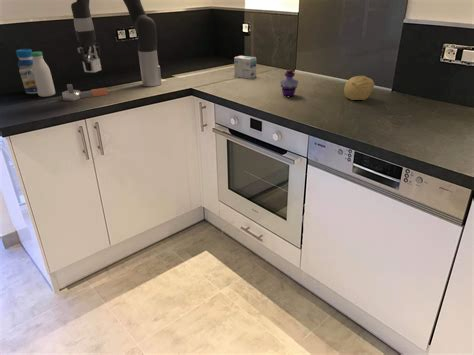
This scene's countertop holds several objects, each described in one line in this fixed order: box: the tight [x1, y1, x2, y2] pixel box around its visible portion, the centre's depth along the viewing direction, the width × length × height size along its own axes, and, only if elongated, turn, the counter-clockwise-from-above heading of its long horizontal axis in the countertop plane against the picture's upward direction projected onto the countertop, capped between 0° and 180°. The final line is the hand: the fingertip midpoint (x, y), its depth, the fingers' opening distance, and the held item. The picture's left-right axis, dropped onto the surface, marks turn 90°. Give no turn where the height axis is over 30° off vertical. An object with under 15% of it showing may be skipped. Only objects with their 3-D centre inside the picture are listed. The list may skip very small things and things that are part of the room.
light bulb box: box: [233, 55, 257, 80], centre depth 211 cm, size 11×7×11 cm, turn 58°
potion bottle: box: [279, 69, 299, 98], centre depth 178 cm, size 9×9×12 cm
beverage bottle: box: [15, 48, 38, 95], centre depth 185 cm, size 8×8×20 cm
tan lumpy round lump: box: [343, 75, 375, 101], centre depth 172 cm, size 11×12×11 cm
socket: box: [82, 57, 102, 73], centre depth 169 cm, size 5×5×5 cm
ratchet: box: [61, 83, 109, 102], centre depth 180 cm, size 20×8×6 cm, turn 118°
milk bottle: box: [31, 50, 56, 98], centre depth 180 cm, size 8×8×20 cm
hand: (92, 69), depth 170 cm, fingers closed on socket, 5 cm apart
